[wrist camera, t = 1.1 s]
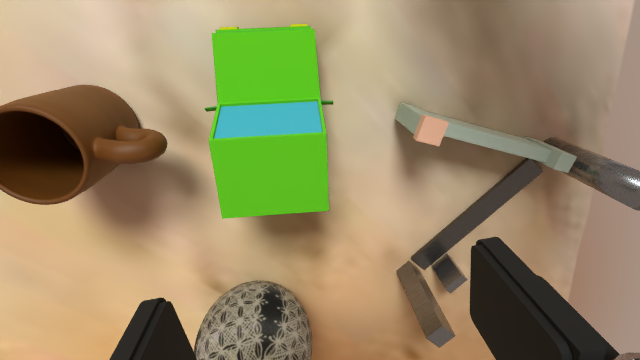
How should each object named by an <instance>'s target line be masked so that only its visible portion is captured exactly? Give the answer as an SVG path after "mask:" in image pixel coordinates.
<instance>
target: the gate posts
mask: <svg viewBox="0 0 640 360" xmlns="http://www.w3.org/2000/svg"><path fill="white" fill-rule="evenodd" d="M544 142H545V143H547V144H549V145H551V146H554V147H556V148H558V149H561V150H563V151H565V152H567V153H570V154H572V155H574V156H577V158H576V160H575V162H574V163H573V165H572V167H571V169H570V170H569V172H568V173H566V172H563V173H565V174H567V175H569V176H571V177H573V178H575V179H577V180H579V181H581V182H582V183H584V184H586V185H588V186H590V187H592V188H594V189H596V190H598V191H600V192H602V193H604V194H606V195H608V196H610V197H612V198H613V199H615V200H617V201H619V202H621V203H623V204H625V205H627V206H629V207H631V208H633V209H635V210H640V171H638V170H636V169H633V168H631V167H628V166H626V165H623V164H620V163H618V162H616V161H613V160H611V159H608V158H606V157H603V156H601V155H598V154H596V153H593V152H591V151H588V150H586V149H583V148H581V147H578V146H576V145H573V144H571V143H568V142H566V141H563V140H561V139H558V138H549V139H547V140H545V141H544ZM542 172H543V171H542V170H541V169H540V168H539V166H538V165H537V164H536V163H535V162H534V160H533V159H530V158H526V159H525V160H524V161H523V162H522V163H521V164H519V165H518V166H517V167H516V168H515V169H514V170H512V171H511V172H510V173H509V174H508V175H507V176H505V177H504V178H503V179H502V180H501V181H500V182H498V183H497V184H496V185H495V186H494V187H492V188H491V189H490V190H489V191H488V192H487V193H485V194H484V195H483V196H482V197H481V198H480V199H478V200H477V201H476V202H475V203H474V204H473V205H471V206H470V207H469V208H468V209H467V210H466V211H464V212H463V213H462V214H461V215H460V216H459V217H457V218H456V219H455V220H454V221H453V222H452V223H450V224H449V225H448V226H447V227H446V228H444V229H443V230H442V231H441V232H440V233H439V234H437V235H436V236H435V237H434V238H433V239H432V240H430V241H429V242H428V243H427V244H426V245H425V246H423V247H422V248H421V249H420V250H419V251H418V252H416V253H415V254H414V255H413V256H412V257H411V258H412V260H414V261H415V262H416V263H417V264H418V265H420V266H421V267H422V268H423V269H424V270H425V269H426V268H428V267H429V266H430V265H431V264H432V263H434V262H435V261H436V260H437V259H438V258H440V257H441V256H442V255H443V254H444V253H446V252H447V251H448V250H449V249H450V248H452V247H453V246H454V245H455V244H456V243H458V242H459V241H460V240H461V239H462V238H464V237H465V236H466V235H467V234H468V233H470V232H471V231H472V230H473V229H474V228H476V227H477V226H478V225H479V224H480V223H482V222H483V221H484V220H485V219H486V218H488V217H489V216H490V215H491V214H492V213H494V212H495V211H496V210H497V209H498V208H500V207H501V206H502V205H503V204H504V203H506V202H507V201H508V200H509V199H511V198H512V197H513V196H514V195H515V194H517V193H518V192H519V191H520V190H521V189H523V188H524V187H525V186H526V185H527V184H529V183H530V182H531V181H532V180H533V179H535V178H536V177H537V176H538V175H539V174H541V173H542ZM561 172H562V171H561ZM432 268H433V269H434V271H435V273H436V274H437V276H438V278H439V279H440V281H441V283H442V284H443V286H444V288H445V289H446V290H447V291H449V292H450V293H451V292H453V291H454V290H455V289H456V288H458V287H459V286H460V285H462V284H463V283H464V282H465V281H467V278H466V277H465V276H464V274H463V273H462V271H461V270H460V269H459V267H458V266H457V264H456V263H455V262H454V260H453V259H452V258H451V257H450V256H449V255H448V254H446V255H445V256H443V257H442V258H441V259H440V260H439V261H437V262H436V263H435V264H434V265H432ZM397 273H398V276H399V278H400V280H401V282H402V285H403V287H404V289H405V291H406V294H407V296H408V298H409V300H410V303H411V305H412V307H413V309H414V312H415V314H416V316H417V318H418V321H419V323H420V325H421V327H422V330H423V332H424V334H425V336H426V338H427V339H428V340H429V341H431V342H432V343H433V344H435V345H436V346H438V347H439V348H440V347H441V346H442V345H444V344H445V343H446V342H448V341H449V340H450V339H452V338H453V337H454V336H455V334H454V332H453V330H452V329H451V327H450V325H449V323H448V321H447V319H446V318H445V316H444V314H443V312H442V310H441V308H440V306H439V305H438V303H437V301H436V299H435V297H434V295H433V294H432V292H431V290H430V288H429V286H428V284H427V283H426V281H425V279H424V277H423V275H422V273H421V271H420V270H419V269H418V268H417V267H416V266H415V265H413V264H412V263H411V262H410V261H408V262H407V263H406V264H404V265H403V266H402V267H401V268H400V269H399V270H397Z"/></svg>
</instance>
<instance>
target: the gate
mask: <svg viewBox="0 0 640 360" xmlns="http://www.w3.org/2000/svg"><path fill="white" fill-rule="evenodd" d="M395 119H396V120H397V121H399V122H400V123H401V124H402V125H403V126H405V127H406V128H407V129H408V130H409V131H411V132H412V133H413V134H414V136H413V138H414V139H415V140H416V141H420V142H423V143H427V144H431V145H435V146H440V143H441V141H442V138H443V136H446V137H449V138H453V139H457V140H461V141H465V142H469V143H472V144H476V145H480V146H484V147H488V148H492V149H495V150H499V151H503V152H507V153H511V154H515V155H518V156H522V157H526V158H530V159H534V160H537V161H539V162H540V163H542V164H544V165H546V166H548V167H550V168H552V169H555V170H558V171H562V172H566V173H568V172H569V170H570V169H571V167H572V165H573V163H574V162H575V160H576V158H577V156H574V155H572V154H570V153H567V152H565V151H563V150H561V149H558V148H556V147H554V146H551V145H549V144H547V143H545V142H542V141H540V140H537V139H533V138H530V137H525V138H522V137H518V136H515V135H511V134H507V133H504V132H500V131H496V130H492V129H489V128H485V127H481V126H478V125H474V124H470V123H467V122H463V121H459V120H456V119H452V118H448V117H445V116H441V115H437V114H434V113H430V112H426V111H423V110H421V109H419V108H418V107H416V106H412V105H409V104H405V103H401V102H400V105H399V108H398V110H397V113H396V116H395Z"/></svg>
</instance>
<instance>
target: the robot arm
mask: <svg viewBox="0 0 640 360" xmlns="http://www.w3.org/2000/svg"><path fill="white" fill-rule="evenodd" d="M470 315H471V318H472V321H473V323H474V324H475V326H476V328H477V329H478V331H479V333H480V334H481V336H482V337H483V339H484V341H485V342H486V344H487V346H488V347H489V349H490V350H491V352H492V354H493V355H494V357H495V359H496V360H640V353H625V354H621V355H620V354H619V353H618V352H617V351H616V350H615V349H614V348H613V347H612V346H611V345H610V344H609V343H608V342H607V341H606V340H605V339H604V338H603V337H602V336H601V335H600V334H599V333H598V332H597V331H596V330H595V329H594V328H593V327H592V326H591V325H590V324H589V323H588V322H587V321H586V320H585V319H584V318H583V317H582V316H581V315H580V314H579V313H578V312H577V311H576V310H575V309H573V307H572V306H571V305H570V304H569V303H568V302H567V301H566V300H565V299H564V298H563V297H562V296H561V295H560V294H559V293H558V292H557V291H556V290H555V289H554V288H553V287H552V286H551V285H550V284H549V283H548V282H547V281H546V280H544V279H543V278H542V277H540V276H537V275H535V274H534V273H533V272H532V271H531V270H530V269H529V268H528V267H527V266H526V265H525V264H524V263H523V262H522V260H521V259H520V258H519V257H518V256H517V255H516V254H515V253H514V252H513V251H512V250H511V249H510V248H509V247H508V246H507V245H506V244H505V243H504V242H503V241H502V240H501V239H500V238H498V237H492V238H487V239H481V240H478V241H477V242H476V245H475V246H472V248H471V280H470ZM110 360H197V358H196V356H195V354H194V352H193V349H192V347H191V345H190V343H189V340H188V338H187V336H186V334H185V332H184V329H183V327H182V325H181V323H180V320H179V318H178V316H177V314H176V312H175V309H174V307H173V305H172V303H171V302H170V301H167V302H166V300H165V299H164V298H156V299H151V300H145V301H143V302H141V304H140V305H139V307H138V309H137V310H136V312H135V314H134V316H133V318H132V320H131V321H130V323H129V325H128V327H127V329H126V330H125V332H124V334H123V336H122V338H121V340H120V341H119V343H118V345H117V347H116V349H115V351H114V352H113V354H112V356H111V358H110Z"/></svg>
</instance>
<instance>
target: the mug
mask: <svg viewBox="0 0 640 360" xmlns="http://www.w3.org/2000/svg"><path fill="white" fill-rule="evenodd" d="M166 148H167V140H166V138H165V136H164V135H163V134H161V133H160V132H157V131H155V130H151V129H139V126H138V122H137V119H136V117H135V114H134V113H133V111H132V109H131V108H130V107H129V105H128V104H127V103H126V102H125V101H124V100H123V99H122V98H121V97H119V96H118V95H116V94H115V93H113V92H111V91H110V90H107V89H105V88H102V87H98V86H93V85H77V86H72V87H67V88H63V89H59V90H55V91H50V92H46V93H42V94H38V95H34V96H30V97H26V98H22V99H19V100H15V101H13V102H10V103H8V104H5V105H2V106H0V189H1V190H2V191H3V192H5V193H7V194H8V195H10V196H12V197H14V198H17V199H19V200H22V201H25V202H29V203H33V204H41V205H50V204H58V203H62V202H65V201H68V200H70V199H72V198H74V197H75V196H77V195H78V194H80V193H82V192H84V191H85V190H87V189H88V188H90V187H91V186H93V185H94V184H95V183H97V182H98V181H99V180H100V179H102V178H103V177H104V176H105V175H107V174H108V173H109V172H111V171H112V170H113V169H114V168H115V167H117V166H118V165H119V164H130V163H140V162H146V161H150V160H153V159H155V158H158V157H159V156H160V155H162V154H163V153H164V152H165V150H166Z"/></svg>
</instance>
